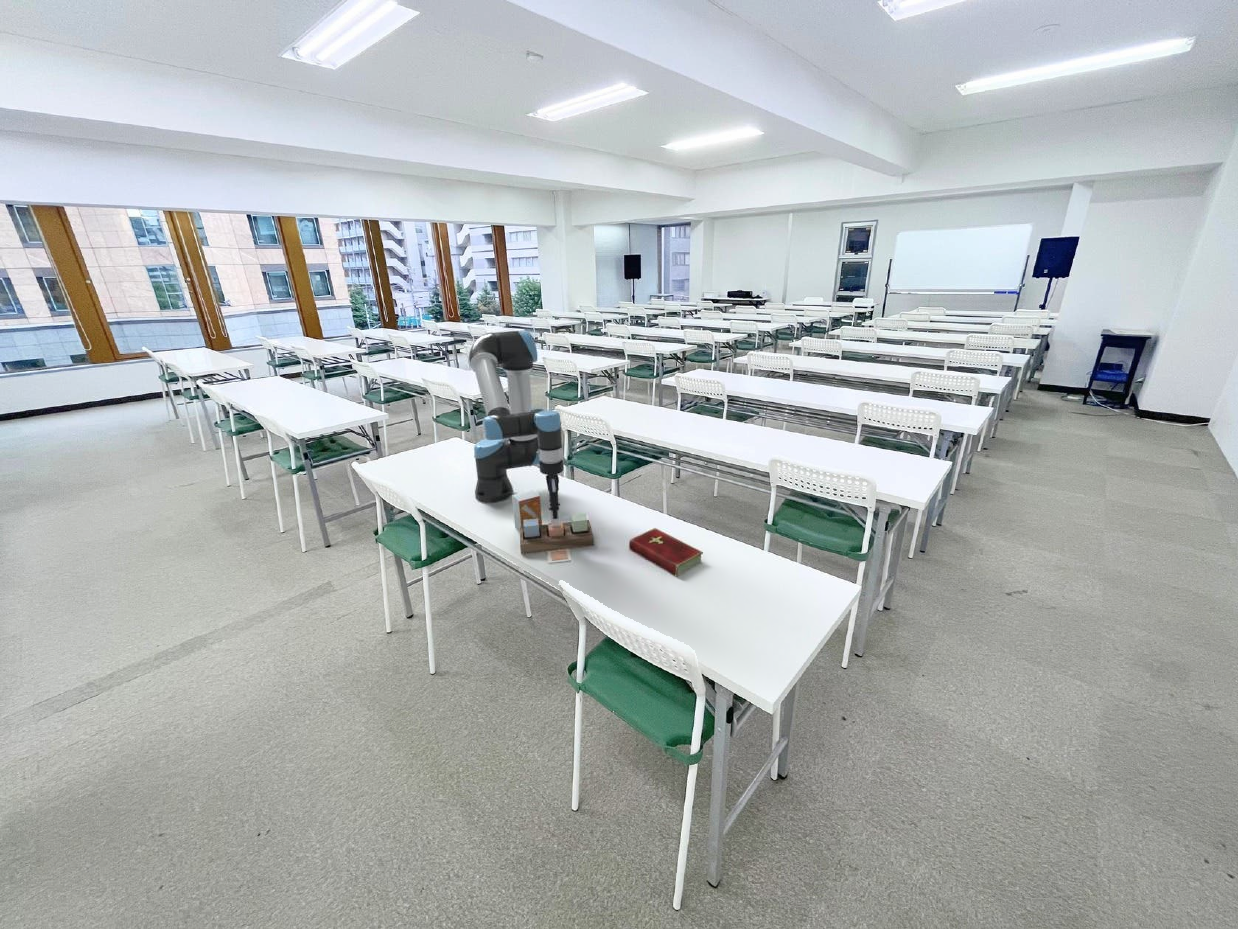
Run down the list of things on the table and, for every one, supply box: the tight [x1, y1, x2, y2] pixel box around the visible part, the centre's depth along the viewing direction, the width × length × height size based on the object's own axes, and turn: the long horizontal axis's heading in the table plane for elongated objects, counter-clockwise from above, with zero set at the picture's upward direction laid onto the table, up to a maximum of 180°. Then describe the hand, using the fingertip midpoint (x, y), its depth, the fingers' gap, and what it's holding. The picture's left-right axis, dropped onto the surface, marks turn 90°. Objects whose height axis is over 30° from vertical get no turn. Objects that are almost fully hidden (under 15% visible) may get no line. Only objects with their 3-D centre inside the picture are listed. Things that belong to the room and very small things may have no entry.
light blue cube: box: [523, 518, 539, 537], centre depth 165 cm, size 5×5×5 cm
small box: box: [511, 489, 543, 533], centre depth 174 cm, size 8×6×13 cm
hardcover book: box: [628, 527, 704, 577], centre depth 158 cm, size 12×21×4 cm, turn 41°
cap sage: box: [570, 513, 588, 532], centre depth 167 cm, size 5×5×5 cm
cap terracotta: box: [547, 521, 564, 537], centre depth 167 cm, size 5×5×5 cm
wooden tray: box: [519, 519, 595, 555], centre depth 167 cm, size 12×24×4 cm, turn 101°
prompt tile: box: [546, 549, 572, 564], centre depth 159 cm, size 7×7×1 cm
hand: (555, 525), depth 166 cm, fingers closed
